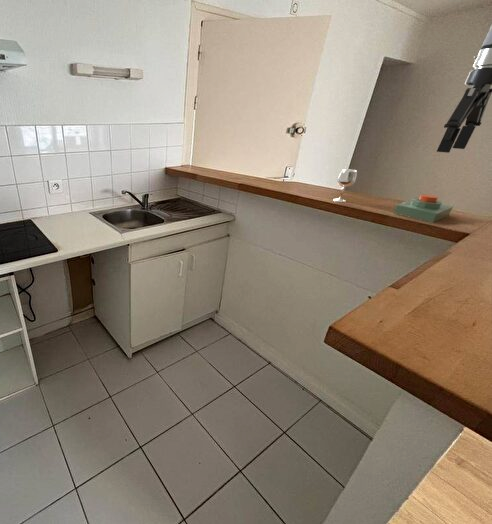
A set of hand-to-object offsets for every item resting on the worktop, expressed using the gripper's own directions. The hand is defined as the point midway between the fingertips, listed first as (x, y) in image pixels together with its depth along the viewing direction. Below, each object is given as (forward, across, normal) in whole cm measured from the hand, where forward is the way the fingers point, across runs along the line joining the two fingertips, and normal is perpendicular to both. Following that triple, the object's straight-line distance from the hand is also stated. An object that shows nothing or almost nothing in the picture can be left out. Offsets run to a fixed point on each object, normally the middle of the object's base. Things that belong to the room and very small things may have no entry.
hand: (450, 150), depth 87 cm
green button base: (+22, -3, 0) cm, 22 cm away
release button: (+17, -3, 0) cm, 17 cm away
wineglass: (+22, +4, -25) cm, 33 cm away
